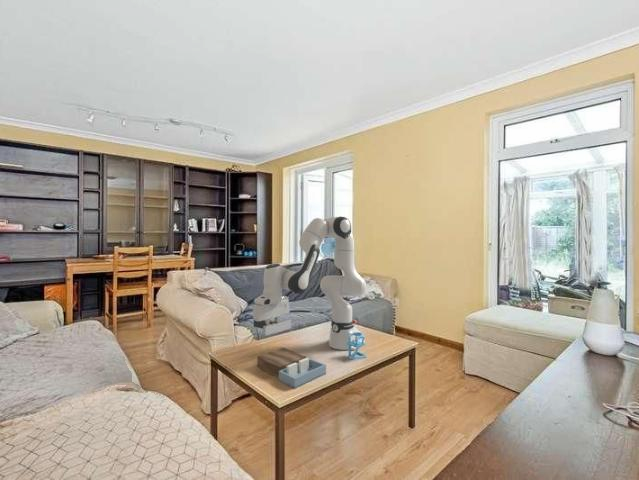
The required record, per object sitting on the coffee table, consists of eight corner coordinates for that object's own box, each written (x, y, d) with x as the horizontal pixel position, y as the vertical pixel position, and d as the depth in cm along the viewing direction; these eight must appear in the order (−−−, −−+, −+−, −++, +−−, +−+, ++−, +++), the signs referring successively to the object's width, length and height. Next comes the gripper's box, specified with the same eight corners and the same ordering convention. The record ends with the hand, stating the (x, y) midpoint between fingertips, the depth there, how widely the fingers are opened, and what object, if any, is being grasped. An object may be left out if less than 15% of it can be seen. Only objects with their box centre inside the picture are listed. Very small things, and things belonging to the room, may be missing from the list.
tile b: (295, 362, 140) (297, 363, 139) (295, 373, 140) (297, 374, 139) (286, 365, 137) (288, 367, 136) (286, 377, 137) (288, 378, 136)
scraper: (242, 329, 155) (242, 321, 155) (268, 322, 167) (267, 315, 167) (265, 335, 143) (265, 326, 143) (291, 328, 155) (291, 319, 155)
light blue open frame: (344, 356, 163) (345, 333, 163) (356, 352, 168) (356, 330, 168) (355, 361, 157) (356, 337, 157) (367, 357, 162) (367, 333, 162)
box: (309, 366, 149) (310, 358, 149) (325, 373, 143) (326, 364, 142) (278, 380, 135) (278, 371, 135) (294, 388, 129) (295, 378, 128)
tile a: (306, 357, 146) (308, 358, 145) (306, 368, 146) (308, 369, 145) (298, 360, 142) (301, 361, 141) (298, 371, 142) (300, 373, 141)
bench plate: (283, 357, 160) (283, 347, 160) (306, 367, 149) (306, 356, 149) (257, 367, 148) (257, 356, 148) (279, 378, 137) (280, 366, 137)
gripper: (284, 294, 162) (283, 321, 163) (251, 300, 147) (250, 329, 147) (292, 296, 158) (292, 323, 158) (259, 302, 143) (259, 333, 143)
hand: (271, 326), depth 153 cm, fingers closed on scraper, 2 cm apart
